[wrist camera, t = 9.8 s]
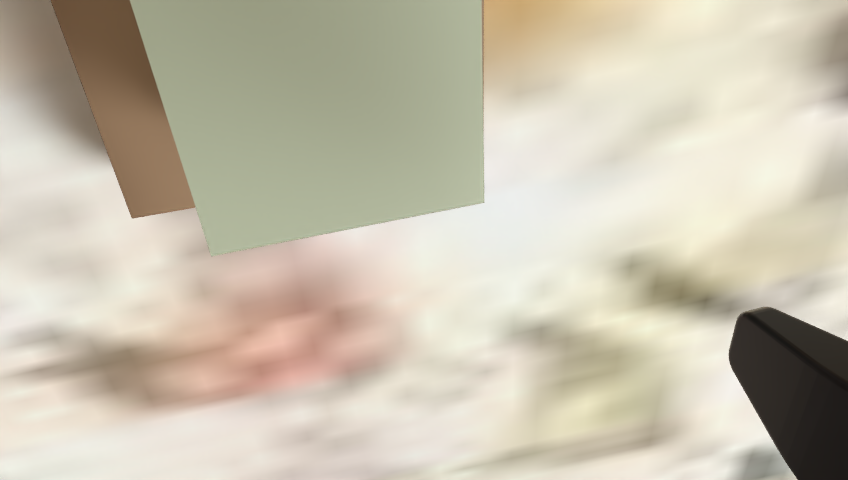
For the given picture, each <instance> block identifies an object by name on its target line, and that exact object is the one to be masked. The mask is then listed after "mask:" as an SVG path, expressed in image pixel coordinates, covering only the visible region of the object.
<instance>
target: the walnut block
mask: <svg viewBox="0 0 848 480" xmlns="http://www.w3.org/2000/svg"><path fill="white" fill-rule="evenodd" d="M51 3H52V6H53V8H54V11H55V14H56V16H57V19H58V22H59V24H60V27H61V30H62V32H63V35H64V38H65V40H66V43H67V46H68V48H69V51H70V54H71V56H72V59H73V62H74V65H75V67H76V70H77V73H78V75H79V78H80V81H81V83H82V86H83V89H84V91H85V94H86V97H87V99H88V102H89V105H90V107H91V110H92V113H93V115H94V118H95V121H96V123H97V126H98V129H99V131H100V134H101V137H102V140H103V142H104V145H105V148H106V150H107V153H108V156H109V158H110V161H111V164H112V166H113V169H114V172H115V174H116V177H117V180H118V182H119V185H120V188H121V190H122V193H123V196H124V198H125V201H126V204H127V207H128V209H129V212H130V215H131V217H132V218H138V217H144V216H149V215H155V214H161V213H167V212H172V211H178V210H184V209H190V208H195V203H194V200H193V197H192V194H191V191H190V188H189V185H188V182H187V178H186V175H185V172H184V169H183V166H182V163H181V160H180V156H179V153H178V150H177V147H176V144H175V141H174V138H173V135H172V131H171V128H170V125H169V122H168V119H167V116H166V113H165V109H164V106H163V103H162V100H161V97H160V94H159V91H158V87H157V84H156V81H155V78H154V75H153V72H152V69H151V66H150V62H149V59H148V56H147V53H146V50H145V47H144V44H143V40H142V37H141V34H140V31H139V28H138V25H137V22H136V18H135V15H134V12H133V9H132V6H131V3H130V0H51ZM482 72H483V86H484V0H482Z"/></svg>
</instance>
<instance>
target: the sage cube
mask: <svg viewBox="0 0 848 480" xmlns="http://www.w3.org/2000/svg"><path fill="white" fill-rule="evenodd" d="M130 3H131V6H132V9H133V12H134V15H135V18H136V22H137V25H138V28H139V31H140V34H141V37H142V40H143V44H144V47H145V50H146V53H147V56H148V59H149V62H150V66H151V69H152V72H153V75H154V78H155V81H156V84H157V87H158V91H159V94H160V97H161V100H162V103H163V106H164V109H165V113H166V116H167V119H168V122H169V125H170V128H171V131H172V135H173V138H174V141H175V144H176V147H177V150H178V153H179V156H180V160H181V163H182V166H183V169H184V172H185V175H186V178H187V182H188V185H189V188H190V191H191V194H192V197H193V200H194V203H195V207H196V210H197V213H198V216H199V219H200V222H201V225H202V229H203V232H204V235H205V238H206V241H207V244H208V247H209V251H210V254H211V256H216V255H221V254H226V253H231V252H236V251H241V250H246V249H251V248H256V247H262V246H267V245H272V244H277V243H282V242H287V241H292V240H297V239H302V238H307V237H312V236H317V235H323V234H328V233H333V232H338V231H343V230H348V229H353V228H358V227H363V226H368V225H373V224H378V223H384V222H389V221H394V220H399V219H404V218H409V217H414V216H419V215H424V214H429V213H434V212H439V211H444V210H450V209H455V208H460V207H465V206H470V205H475V204H480V203H484V146H483V72H482V0H130Z"/></svg>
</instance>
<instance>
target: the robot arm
mask: <svg viewBox="0 0 848 480" xmlns="http://www.w3.org/2000/svg"><path fill="white" fill-rule="evenodd" d="M729 361H730V365H731V368H732V370H733V372H734V373H735V375H736V377H737V379H738V380H739V382H740V384H741V386H742V387H743V389H744V391H745V393H746V394H747V396H748V398H749V400H750V402H751V403H752V405H753V407H754V409H755V410H756V412H757V414H758V416H759V417H760V419H761V421H762V423H763V424H764V426H765V428H766V430H767V431H768V433H769V435H770V437H771V438H772V440H773V442H774V444H775V445H776V447H777V449H778V450H779V452H780V454H781V455H782V457H783V459H784V460H785V462H786V463H787V465H788V466H789V468H790V469H791V471H792V472H793V474H794V475H795V476H796V478H797V479H798V480H848V341H846V340H844V339H842V338H840V337H837V336H835V335H833V334H831V333H828V332H826V331H824V330H822V329H819V328H817V327H815V326H813V325H810V324H808V323H806V322H804V321H801V320H799V319H797V318H795V317H792V316H790V315H788V314H786V313H783V312H781V311H779V310H777V309H774V308H771V307H761V308H757V309H753V310H749V311H745V312H743V313H741V314H740V315H739V316H738V318H737V321H736V325H735V329H734V333H733V337H732V341H731V345H730V349H729Z"/></svg>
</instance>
